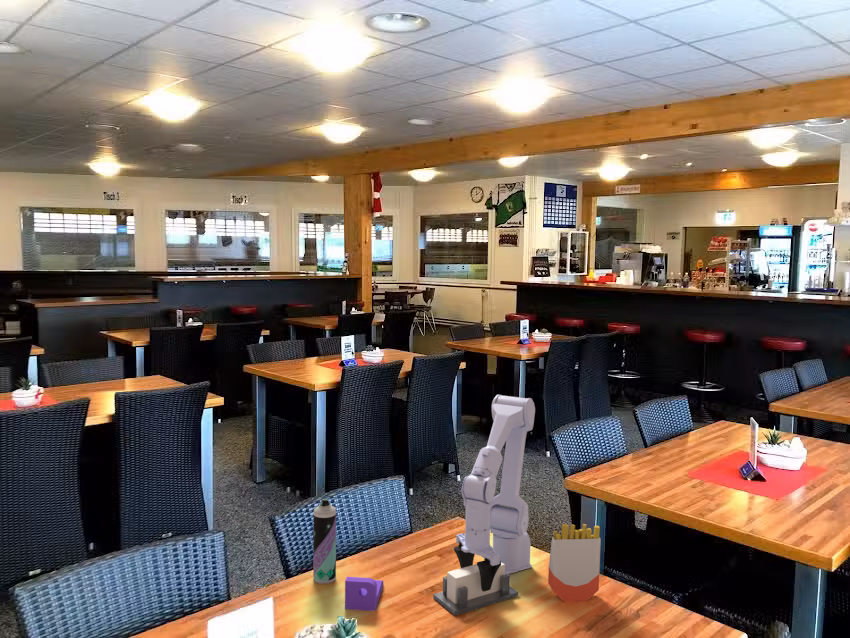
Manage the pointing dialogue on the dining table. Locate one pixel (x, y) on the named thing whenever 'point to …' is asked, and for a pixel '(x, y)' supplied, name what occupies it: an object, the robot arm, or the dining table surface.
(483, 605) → the grey tray
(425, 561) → the dining table surface
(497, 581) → the block
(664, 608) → the dining table surface
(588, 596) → the french fries container
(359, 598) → the bracket
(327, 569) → the spray can
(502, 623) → the dining table surface
